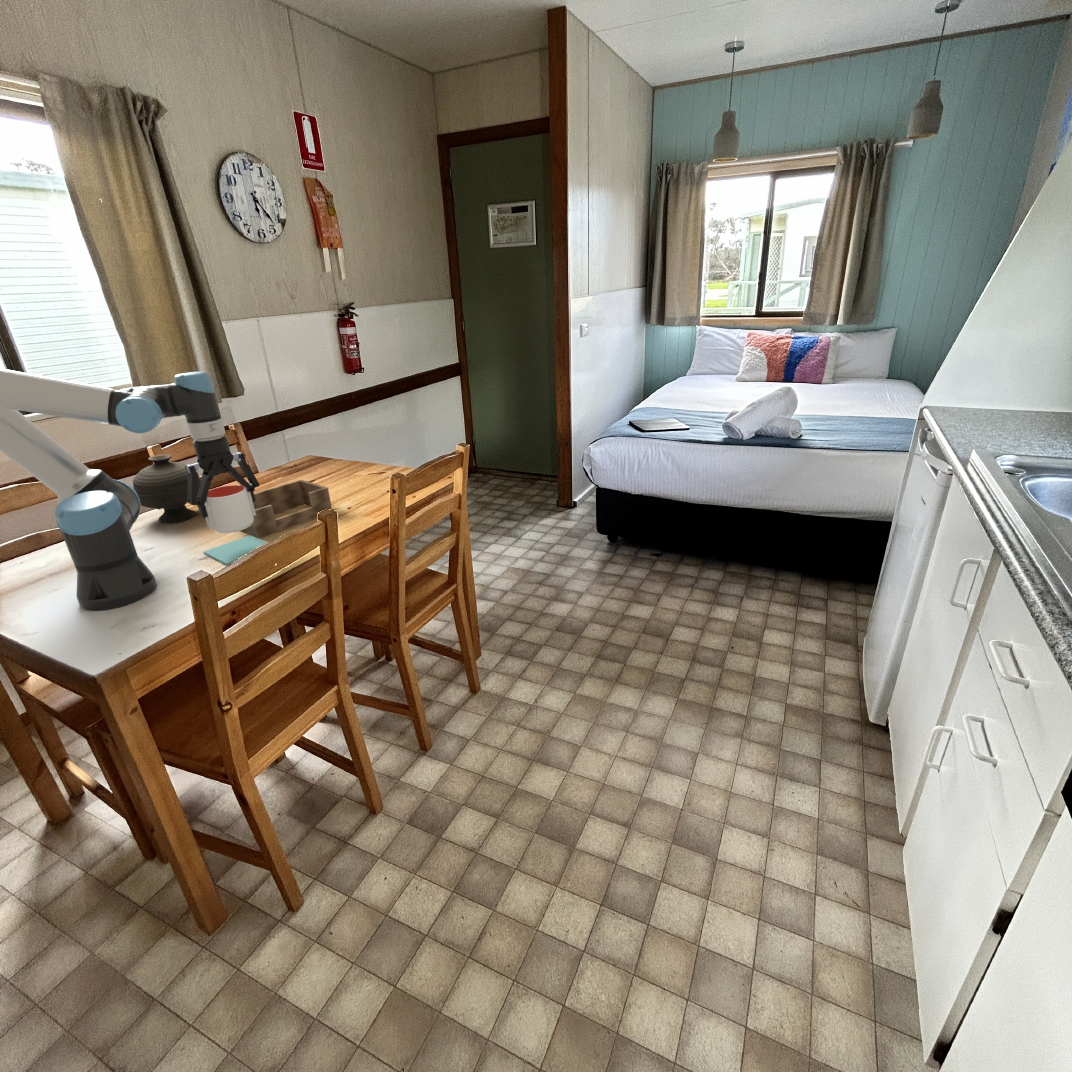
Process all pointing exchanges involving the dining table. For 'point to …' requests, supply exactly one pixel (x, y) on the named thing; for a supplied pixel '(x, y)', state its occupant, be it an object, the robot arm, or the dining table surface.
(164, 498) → the pot
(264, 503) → the crate
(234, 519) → the cup
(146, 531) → the dining table surface
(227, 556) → the mat
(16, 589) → the dining table surface
